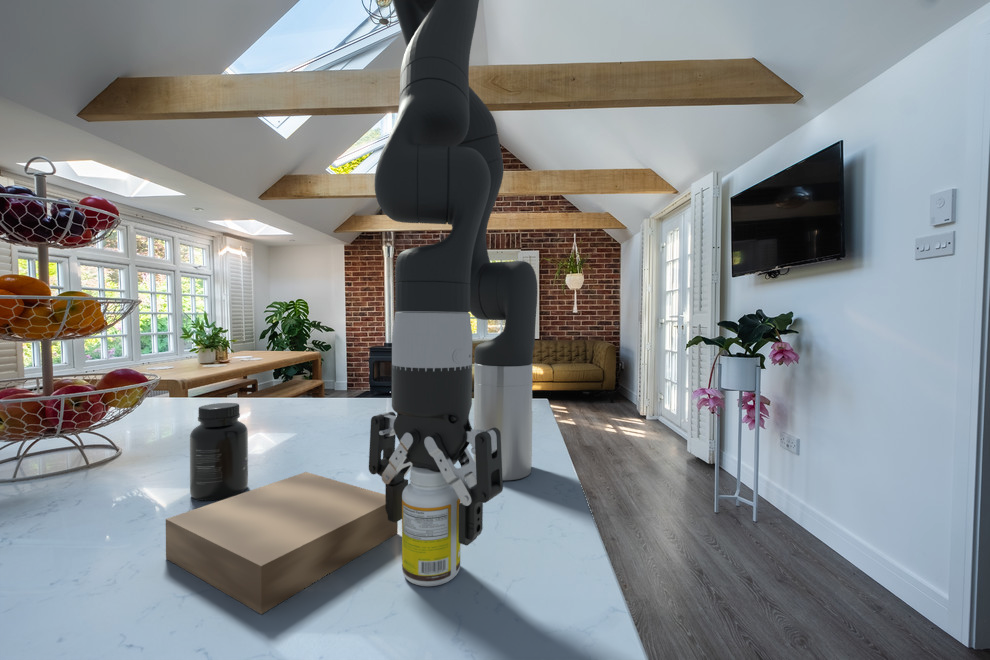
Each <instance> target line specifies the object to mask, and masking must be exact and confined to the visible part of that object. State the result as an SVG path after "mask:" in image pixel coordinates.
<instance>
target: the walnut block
mask: <svg viewBox="0 0 990 660" xmlns="http://www.w3.org/2000/svg"><path fill="white" fill-rule="evenodd" d="M385 499H386V498H385V494H384V493H380V492H377V491H373V490H370V489H367V488H365V487H364V488H363V487H361V486H356V485H353V484H349V483H346V482H343V481H338V480H336V479H332V478H329V477H326V476H325V477H324V476H322V475H318V474H314V473H312V472H308V471H305V472H302V473H299V474H296V475H293V476H289V477H287V478H284V479H281V480H278V481H275V482H272V483H269V484H266V485H263V486H260V487H258V488H254V489H251V490H248V491H245V492H241V493H239V494H236V495H234V496H231V497H227V498H223V499H220V500H219V501H218V500H217V501H216V502H212V503H209V504H206V505H203V506H201V507H198V508H194V509H191V510H189V511H186V512H183V513H179V514H176V515H173V516H171V517H167V518H165V559H166V560H168V561H169V562H171V563H173V564H174V565H176V566H178V567H179V568H182V569H183V570H184V571H186V572H188V573H190V574H191V575H194V576H195V577H197V578H198V579H199V580H201V581H204V582H205V583H206V584H209V585H210V586H212V587H214V588H216V589H217V590H218V591H221V592H222V593H224V594H225V595H227V596H229V597H231V598H232V599H235V600H236V601H238V602H240V603H241V604H243V605H245V606H247V607H248V608H249V609H252V610H253V611H255V612H256V613H259V614H260V615H263V614H264V613H266V612H267V611H270V610H271V609H273V608H274V607H276V606H277V604H278V605H279V604H282V602H285V601H286V600H288V599H291V597H292V596H295V595H296V594H298V593H301V591H304V590H305V589H306V588H308V587H310V586H311V585H313V584H314V582H315V583H316V582H318V581H320V580H322V579H323V578H324V576H325V577H327V576H328V575H330V574H332V573H334V572H335V571H336V570H338V569H340V568H342V567H343V566H345V565H346V564H348V563H350V562H352V561H353V560H355V559H357V558H358V557H360V556H362V555H363V554H365V553H367V552H368V551H371V550H372V549H374V548H375V547H378V546H379V545H381V544H382V543H384V542H386V541H387V540H388V539H390V538H392V537H394V536H395V535H397V534H398V532H399V531H398V528H399V527H398V525H399V521H398V522H396V523H394V522H391V521H389V520H388V514H387V513H386V509H385V503H386V502H385ZM329 573H330V574H329ZM327 574H328V575H327ZM326 575H327V576H326ZM322 577H323V578H322ZM321 578H322V579H321ZM317 580H318V581H317ZM312 583H313V584H312ZM304 588H305V589H304Z"/></svg>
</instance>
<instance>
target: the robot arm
mask: <svg viewBox="0 0 990 660" xmlns="http://www.w3.org/2000/svg"><path fill="white" fill-rule="evenodd" d="M391 1H392V5H393V8H394V11H395V14H396V18H397V21H398V23H399V26H400V30H401V33H402V36H403V37H402V38H403V39H404V44H405V46H406V49H405V52H404V55H403V57H402V61H401V67H400V74H399V75H400V78H399V94H398V95H399V97H398V98H399V99H398V109H397V110H398V111H397V115H396V118H395V121H394V123H393V127H392V129H391V132H390V133H389V135H388V137H387V139H386V142H385V144H384V146H383V148H382V150H381V153H380V156H379V159H378V162H377V164H376V168H375V174H374V193H375V198H376V202H377V203H378V205H379V208H380V209H381V211H382V212H383V213H384V214H385V216H386V217H388V218H389V219H391V220H393V221H394V222H398V223H402V224H403V223H405V224H431V225H451V227H452V228H451V231H450V233H448V235H447V236H446V237H445V238H444V239H442V240H440V241H438V242H436V243H432V244H428V245H422V246H421V245H420V246H416V247H410V248H408V249H405V250H403V251H401V252H400V253H399V254H398V256H397V258H396V260H395V269H394V274H395V275H394V281H395V284H394V288H395V289H394V290H395V291H394V311H395V312H394V319H393V320H394V321H393V327H392V335H391V408H392V410H393V411H389V412H383V413H380V414H375V415H373V416H372V417H371V419H370V429H369V431H370V432H369V452H368V455H369V456H368V472H369V473H370V474H371V475H376V474H377V475H378V476H379V477H380V478H381V481H382V482H383V484H385V490H384V491H385V498H386V499H385V502H386V503H385V509H386V513H387V514H388V520H389V521H391V522H394V523H396V522H398V523H399V522H400V521H402V493H403V490H404V488H405V487H406V486H407V485H408V484H409V479H407V478H405V477H406V476H408V473H409V472H411V467H412V466H414V467H418V468H420V467H426V468H428V469H430V470H431V471H435V472H440V471H441V473H442V475H443V477H444V479H445V481H446V482H447V483H448V484H451V485H452V486H453V487H454V489H455V491H456V493H457V495H458V497H459V499H460V501H461V503H460V504H459V543H460V545H464V546H466V547H467V546H469V545H470V544H472V543H473V542H474V541H475V540H476V539H477V538H478V536H480V535H481V534H482V531H483V528H484V526H483V521H484V520H483V517H484V515H483V514H484V512H483V511H484V508H483V507H484V504H486V503H487V502H489V501H491V500H492V499H494V498H495V497H497V496H498V495H500V494H501V493H502V492H503V489H504V482H503V481H514V480H515V481H516V480H520V479H524V478H526V477H528V476H529V475H530V474H531V473H532V466H533V465H532V463H533V458H532V457H533V360H534V359H533V358H534V357H533V356H534V348H535V342H536V324H537V323H536V322H537V310H538V309H537V307H538V280H537V275H536V271H535V269H534V267H533V266H532V265H531V263H529V262H528V261H526V260H525V261H524V260H513V261H511V260H510V261H507V260H506V261H492V262H491V260H490V258H489V253H488V245H487V230H488V225H489V221H490V217H491V214H492V211H493V210H494V206H495V204H496V200H497V198H498V195H499V192H500V189H501V186H502V182H503V179H504V173H505V172H504V170H505V169H504V161H503V155H502V150H501V144H500V139H499V132H498V128H497V123H496V120H495V117H494V116H493V114H492V113H491V111H490V109H489V108H488V107H487V105H486V104H485V102H484V101H483V100H482V99H481V98H480V96H479V95H478V94H477V93H476V92H475V91H474V90H473V89H472V88H471V87H470V85H469V84H470V81H469V80H470V77H469V74H470V73H469V72H470V56H471V50H472V49H471V48H472V43H473V38H474V33H475V28H476V22H477V18H478V17H477V16H478V11H479V10H478V9H479V2H480V0H391ZM471 315H472V316H473V317H474V318H476V320H477V319H478V320H483V321H505V323H504V328H503V330H502V332H500V333H499V334H498V335H497V336H495V337H494V338H491V339H490V340H487V341H484V342H481V343H479V344H478V345H476V346H475V348H474V356H473V331H472V324H471V323H472V322H471ZM473 357H474V360H473ZM473 361H474V365H473ZM473 367H474V368H473ZM473 369H474V370H473ZM473 371H474V373H473ZM473 376H474V379H473ZM473 380H474V382H473ZM473 384H474V385H473ZM473 386H474V387H473ZM472 405H473V426H472V425H471V421H470V412H471V409H472ZM396 413H397V414H396ZM396 438H397V440H398V442H399V444H398V445H397V447H396ZM469 445H471V453H472V454H473V456H472V455H471V453H470V451H469V450H468V446H469ZM457 462H459V464H460V467H459V468H458V467H456V466H455V464H457Z"/></svg>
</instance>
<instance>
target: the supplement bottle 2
mask: <svg viewBox="0 0 990 660" xmlns="http://www.w3.org/2000/svg"><path fill="white" fill-rule="evenodd" d="M409 480H410V483H408V485H407V486H406V487H405V488H404V490H403V493H402V519H401V555H402V556H401V567H402V574H403V576H404V578H406V580H407V581H409V582H410V583H412V584H414V585H417V586H419V587H420V586H421V587H437V586H441V585H443V584H446V583H448V582H450V581H451V580H453V579H454V578H455V577H456V576H457V574H458V573H459V571H460V570H461V569H460V568H461V544H460V543H459V504H460V503H462V502H461V501H460V499H459V497H458V495H457V493H456V491H455V489H454V487H453V486H452V485H451V484H448V483H447V482H446V481H445V479H444V477H443V475H442V473H441V471H440V472H435V471H431V470H430V469H428V468H426V467H420V468H418V467H414V466H412V467H411V469H410V476H409Z"/></svg>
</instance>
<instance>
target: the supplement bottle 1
mask: <svg viewBox="0 0 990 660" xmlns="http://www.w3.org/2000/svg"><path fill="white" fill-rule="evenodd" d="M239 418H241V413H240V403H238V402H237V403H235V402H222V403H211V404H210V403H209V404H205V405H204V404H203V405H202V406H201V405H200V406H199V407H198V417H197V421H198V423H199V422H200V424H199V425H197V426H195V428H193V429H192V431H191V432H190V434H189V491H190V492H189V493H190V496H191V498H193V499H194V500H198V501H214V500H217V501H218V500H224V499H227V498H230V497H233V496H236V495H239V494H242V493H243V492H244V491H245V490H246V489H247V487H248V485H249V435H248V427H247V425H246V424H245V423H243V422H241V421H239Z"/></svg>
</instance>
